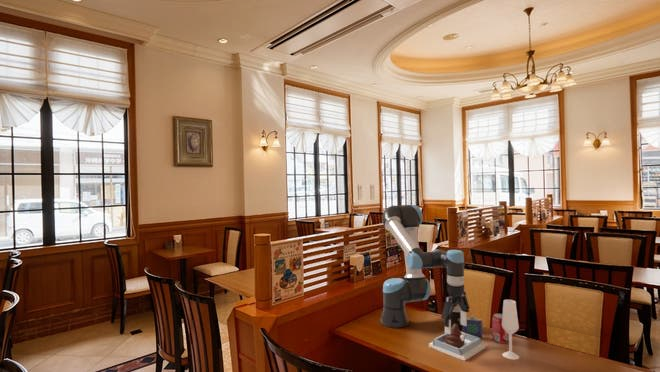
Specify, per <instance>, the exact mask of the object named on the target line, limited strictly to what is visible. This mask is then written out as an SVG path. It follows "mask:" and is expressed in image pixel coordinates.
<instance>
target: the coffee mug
mask: <svg viewBox="0 0 660 372" xmlns="http://www.w3.org/2000/svg"><path fill="white" fill-rule="evenodd" d="M461 311H462V310H461V308H460V306H456V307H454V309H453V312H452V314H451V317H450V320H451V327H452V326H453V325H454V323H455V324H457V326H458V328H459V330H460V331H463V325H461Z"/></svg>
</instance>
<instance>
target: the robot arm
mask: <svg viewBox="0 0 660 372" xmlns="http://www.w3.org/2000/svg"><path fill="white" fill-rule="evenodd" d="M423 218H424V216H423V212H422V210H421V208H420V207H419V206H418V205H415V204H404V205H403V204H401V205H391V206H388V207H387V208H386V209H385V210H384V212H382V216H381V222H382V224H383V227H384V228H385V230H387V231H388V232H390V233H391V235H392V237H393V238H394V239H395V241H396V242H397V244H398V245H399V247H400V248H401V249H402V251H403V252H404V253H403V254H404V262H405V271H406V273H405V275H404V276H403V278H404V279H403V278H401V277H397V278H396V277H392V278H389V279H386V280H385V281H384V282H383V285H382V294H383V299H382V300H383V301H382V302H383V309H382V312H381V316H380V323H381V325H383V326H385V327H388V328H392V329H393V328H397V329H399V328H404V327H407V326H408V325H409V317H408V316H407V312H406V303H413V302H421V301H425V300H428V299H429V297H430V295H431V292H432V291H431V290H432V287H431V282H430V281H429V280H428V278H426V275H424V273H423V270H422V269H430V268H431V269H432V268H445V269H446V283H447V284H446V291H447V292H448V294H449V295H448V296H445V297H444V303H443V308H442V314H441V318H440V319H442V320H443V321H444V334H445V333H447V334H451V320H450V317H451V314H452V312H453V309H454V307H457V305H458V307H460V308H461V310H462V311H461V325H464V326H467V318H468V317H467V315H468V313H469V312H470V305H469V301H468V298H467V292H466V291H465V285H464V284H465V256H464V255H465V254H464V252H463V251H462V250H458V249H449V250H447V251H445V250H443V249H434V250H433V251H426V252H424V251H423V250H422V249H421V248H420V244H419V237H418V236H419V235H418V230H419V229H420V225H421V224H422V222H423V220H424V219H423Z"/></svg>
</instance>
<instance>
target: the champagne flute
mask: <svg viewBox="0 0 660 372" xmlns="http://www.w3.org/2000/svg"><path fill="white" fill-rule="evenodd" d="M502 304H503V305H502V313H501V314H502V327H503V329H504V330H505V331H506V332H507V333H508V351H505V352H502V354H501V355H502V356H503V357H504V358H506V359H509V360H519V359H520V356H519V355H518V354H517V353H515V352H513V334H515V333H517V332H518V330H519V329H520V326H519V319H518V310H517V302H516V300H513V299H504V300H503V303H502Z"/></svg>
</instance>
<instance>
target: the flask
mask: <svg viewBox="0 0 660 372" xmlns="http://www.w3.org/2000/svg"><path fill="white" fill-rule="evenodd" d="M462 332H464V333H467V334H470V335H473V336H476V337H479V338H481V339H483V337H484V336H483V320H482V319H481V318H475V316H474V314H472V315H470V317H467V326H464V325H463V330H462Z"/></svg>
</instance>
